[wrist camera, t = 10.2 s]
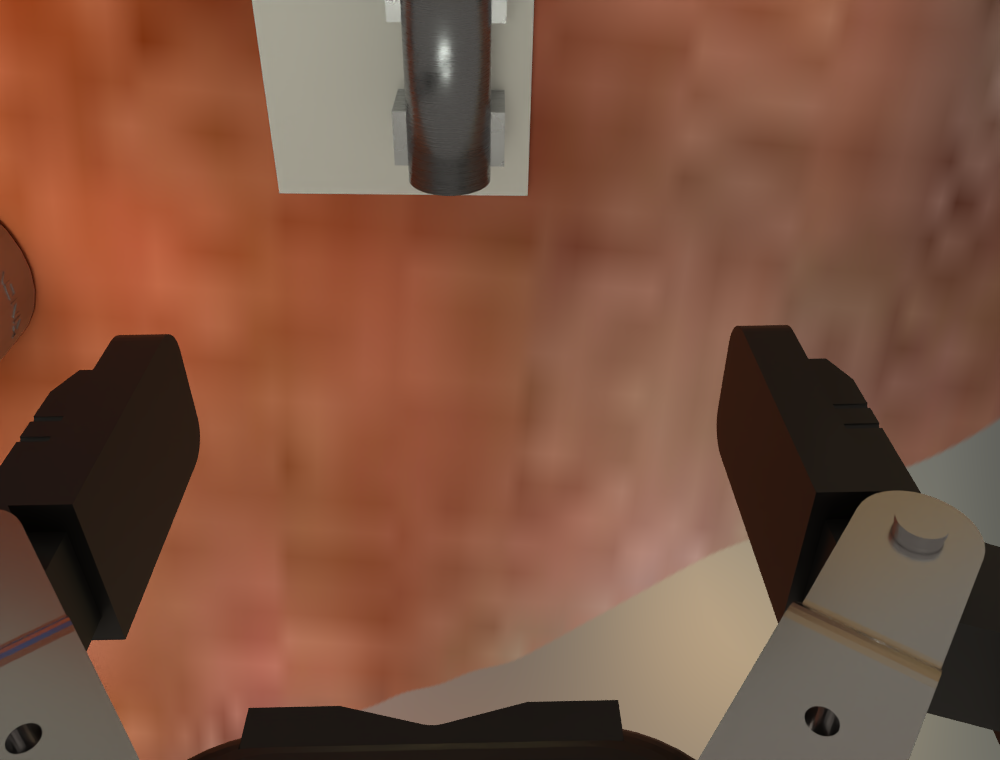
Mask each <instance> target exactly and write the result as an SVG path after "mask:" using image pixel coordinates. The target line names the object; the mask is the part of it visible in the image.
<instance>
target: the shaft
mask: <svg viewBox="0 0 1000 760" xmlns="http://www.w3.org/2000/svg"><path fill="white" fill-rule="evenodd" d="M385 10H386V22H401V31H402V50H403V70H404V89H398V90H397V94H396V97H395V101H394V104H393V108H392V127H393V144H394V160H395V165H403V166H408V169H409V182H410V184H411V185H412V186H413V187H414V188H415V189H417V190H419V191H422V192H425V193H428V194H433V195H442V196H456V195H465V194H470V193H474V192H477V191H479V190H481V189H483V188H485V187H486V186H487V185H488V184H489V183H490V172H491V166H500V167H504V148H505V91H504V90H491V23H497V24H506V23H507V0H385Z"/></svg>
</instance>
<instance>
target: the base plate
mask: <svg viewBox="0 0 1000 760" xmlns="http://www.w3.org/2000/svg"><path fill="white" fill-rule="evenodd" d="M252 4H253V11H254V18H255V25H256V32H257V39H258V46H259V53H260V60H261V67H262V75H263V82H264V89H265V96H266V103H267V110H268V117H269V124H270V131H271V138H272V145H273V152H274V159H275V166H276V173H277V180H278V187H279V193H304V194H405V195H433V194H428V193H425V192H422V191H419V190H417V189H415V188H414V187H413V186H412V185H411V184H410V182H409V169H408V166H403V165H395V160H394V144H393V127H392V108H393V104H394V101H395V97H396V94H397V90H398V89H404V70H403V50H402V31H401V22H386V10H385V0H252ZM533 17H534V0H507V23H506V24H497V23H491V90H504V91H505V148H504V167H500V166H491V172H490V183H489V184H488V185H487V186H486V187H485V188H483V189H481V190H479V191H477V192H474V193H470V194H465V195H505V196H528V168H529V138H530V108H531V77H532V47H533Z"/></svg>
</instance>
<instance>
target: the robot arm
mask: <svg viewBox="0 0 1000 760" xmlns="http://www.w3.org/2000/svg"><path fill="white" fill-rule="evenodd" d="M34 301H35V289H34V284H33V279H32V275H31V271H30V268H29V266H28V264H27V262H26V260H25V258H24V255H23V253H22V251H21V250H20V248H19V247H18V245H17V244H16V243H15V241H14V240H13V238H12V237H11V235H10V234H9V233H8V231H7V230H6V229H5V228H4V227H3V226H2V225H1V224H0V361H1V360H2V358H3V357H4V356H5V355H6V353H7V352H8V351H9V350H10V348H11V347H12V346H13V345H14V343H15V342H16V341H17V339H18V338H19V337H20V336H21V334H22V333H23V331H24V330H25V329H26V327H27V326H28V325H29V322H30V319H31V316H32V313H33V310H34ZM717 439H718V447H719V451H720V455H721V458H722V461H723V464H724V467H725V470H726V473H727V476H728V478H729V481H730V484H731V487H732V490H733V493H734V496H735V499H736V502H737V505H738V508H739V510H740V513H741V516H742V519H743V522H744V525H745V528H746V531H747V534H748V537H749V540H750V543H751V545H752V548H753V551H754V554H755V557H756V560H757V563H758V565H759V569H760V572H761V574H762V577H763V580H764V583H765V586H766V589H767V592H768V595H769V598H770V601H771V603H772V607H773V610H774V612H775V615H776V618H777V621H778V625H777V627H776V629H775V630H774V632H773V634H772V636H771V637H770V639H769V641H768V643H767V644H766V646H765V647H764V649H763V651H762V652H761V654H760V656H759V658H758V659H757V661H756V663H755V664H754V666H753V668H752V670H751V671H750V673H749V675H748V676H747V678H746V680H745V681H744V683H743V685H742V686H741V688H740V690H739V691H738V693H737V695H736V696H735V698H734V700H733V702H732V703H731V705H730V707H729V708H728V710H727V712H726V714H725V715H724V717H723V719H722V720H721V722H720V724H719V725H718V727H717V729H716V730H715V732H714V734H713V735H712V737H711V739H710V741H709V742H708V744H707V746H706V747H705V749H704V751H703V752H702V754H701V756H700V758H699V759H698V760H909V758H910V755H911V753H912V750H913V747H914V745H915V742H916V740H917V737H918V734H919V732H920V729H921V726H922V724H923V721H924V719H925V716H926V713H930V714H934V715H937V716H941V717H945V718H949V719H953V720H956V721H960V722H965V723H968V724H972V725H976V726H979V727H984V728H987V729H991V730H993V731H994V733H995V735H996V738H997V740H998V742H999V744H1000V547H998V546H994V545H990V544H987V543H985V542H984V540H983V537H982V535H981V534H980V532H979V530H978V528H977V527H976V526H975V525H974V524H973V522H972V521H971V520H970V519H969V518H968V517H967V516H965V515H964V514H963V513H961V512H960V511H959V510H957V509H956V508H954V507H953V506H951V505H949V504H947V503H946V502H943V501H941V500H939V499H937V498H934V497H931V496H928V495H925V494H921V492H920V491H919V489H918V487H917V486H916V484H915V482H914V481H913V479H912V477H911V476H910V474H909V472H908V471H907V469H906V467H905V466H904V464H903V462H902V461H901V459H900V457H899V456H898V454H897V452H896V451H895V449H894V447H893V445H892V444H891V442H890V440H889V439H888V437H887V435H886V434H885V432H884V430H883V429H882V428H879V422H878V420H877V419H876V417H875V415H874V414H873V412H872V410H871V409H870V408H867V402H866V400H865V399H864V397H863V395H862V394H861V392H860V390H859V389H858V387H857V385H856V383H855V382H854V380H853V379H852V378H851V377H849V376H848V375H847V374H845V373H844V372H843V371H841V370H840V369H839V368H838V367H836V366H835V365H834V364H832V363H831V362H830V361H828V360H827V359H808V358H807V356H806V354H805V352H804V350H803V348H802V347H801V345H800V343H799V341H798V339H797V337H796V335H795V334H794V332H793V330H792V329H791V327H790V326H788V325H766V326H736V327H735V328H734V329H733V331H732V333H731V336H730V341H729V346H728V352H727V358H726V364H725V370H724V376H723V382H722V388H721V394H720V400H719V406H718V413H717ZM199 445H200V431H199V422H198V418H197V414H196V410H195V406H194V402H193V398H192V394H191V391H190V387H189V383H188V379H187V375H186V371H185V368H184V364H183V360H182V356H181V352H180V349H179V346H178V343H177V341H176V339H175V338H174V337H173V336H172V335H169V334H160V335H118V336H115V337H114V338H113V339H112V340H111V342H110V344H109V345H108V347H107V348H106V350H105V351H104V353H103V355H102V356H101V358H100V359H99V361H98V363H97V364H96V366H95V367H94V369H93V370H79V371H78V372H76V373H75V374H74V375H72V376H71V377H70V378H68V379H67V380H66V381H64V382H63V383H62V384H60V385H59V386H58V387H56V388H55V389H54V390H52V391H51V392H50V393H49V395H48V396H47V398H46V399H45V401H44V402H43V404H42V405H41V407H40V408H39V409H38V411H37V412H36V414H35V415H34V422H30V423H29V424H28V426H27V427H26V429H25V430H24V432H23V433H22V435H21V436H20V442H16V444H15V445H14V447H13V448H12V450H11V451H10V453H9V454H8V455H7V457H6V458H5V460H4V461H3V463H2V464H1V466H0V760H139V758H138V756H137V754H136V752H135V750H134V748H133V746H132V744H131V742H130V740H129V737H128V735H127V733H126V731H125V729H124V727H123V725H122V723H121V721H120V719H119V717H118V715H117V713H116V711H115V709H114V707H113V705H112V703H111V701H110V699H109V697H108V695H107V693H106V691H105V689H104V687H103V685H102V683H101V681H100V679H99V677H98V675H97V673H96V671H95V669H94V666H93V664H92V662H91V660H90V658H89V656H88V654H87V652H86V651H87V649H88V647H89V645H90V642H91V640H124V639H126V637H127V634H128V632H129V629H130V627H131V624H132V622H133V619H134V617H135V614H136V612H137V609H138V607H139V604H140V602H141V599H142V597H143V594H144V592H145V589H146V587H147V584H148V582H149V579H150V577H151V574H152V572H153V569H154V567H155V564H156V562H157V559H158V557H159V554H160V552H161V549H162V547H163V544H164V542H165V539H166V537H167V534H168V532H169V529H170V527H171V524H172V522H173V519H174V517H175V514H176V512H177V509H178V507H179V505H180V502H181V500H182V497H183V495H184V492H185V490H186V487H187V485H188V482H189V480H190V477H191V475H192V472H193V470H194V467H195V465H196V462H197V458H198V453H199ZM187 760H695V759H693V758H692V757H690V756H689V755H687V754H685V753H684V752H682V751H681V750H679V749H677V748H674V747H672V746H670V745H668V744H666V743H664V742H662V741H660V740H657V739H655V738H651V737H649V736H646V735H643V734H640V733H637V732H632V731H629V730H624V729H622V724H621V717H620V710H619V704H618V700H605V701H604V700H603V701H557V702H555V701H554V702H526V703H522V704H519V705H514V706H510V707H507V708H503V709H499V710H495V711H491V712H487V713H484V714H480V715H476V716H472V717H468V718H464V719H460V720H456V721H453V722H449V723H445V724H440V725H423V724H419V723H414V722H409V721H405V720H400V719H396V718H391V717H387V716H382V715H377V714H373V713H369V712H364V711H360V710H355V709H351V708H346V707H342V706H320V707H273V708H249V709H248V713H247V717H246V722H245V726H244V730H243V734H242V738H240V739H237V740H233V741H229V742H227V743H224V744H221V745H219V746H216V747H213V748H211V749H208V750H206V751H204V752H202V753H200V754H198V755H196V756H194V757H192V758H189V759H187Z"/></svg>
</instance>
